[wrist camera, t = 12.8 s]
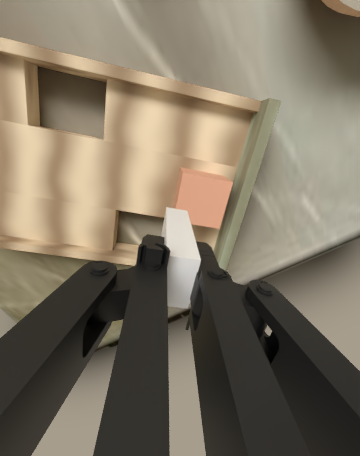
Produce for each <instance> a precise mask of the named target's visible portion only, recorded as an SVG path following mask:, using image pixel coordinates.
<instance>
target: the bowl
mask: <svg viewBox="0 0 360 456" xmlns="http://www.w3.org/2000/svg"><path fill="white" fill-rule="evenodd" d="M321 1H322V2H323V3H324V4H325V5H326V6H327V7H329V8H331V9H333V10H335V11H337V12H338V13H342V14H346V15H351V16H355V17H360V0H321Z"/></svg>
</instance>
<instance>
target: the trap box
mask: <svg viewBox="0 0 360 456" xmlns="http://www.w3.org/2000/svg"><path fill="white" fill-rule="evenodd" d="M37 66H38V67H42V68H47V69H51V70H55V71H59V72H64V73H68V74H72V75H76V76H81V77H85V78H89V79H94V80H98V81H102V82H106V83H107V86H106V104H105V122H104V139H101V138H96V137H91V136H86V135H81V134H76V133H71V132H66V131H61V130H57V129H52V128H47V127H42V126H40V110H39V89H38V68H37ZM280 104H281V101H279V100H275V99H271V98H269V99H266V100H263V101H258V100H254V99H250V98H246V97H242V96H238V95H234V94H230V93H226V92H222V91H218V90H214V89H209V88H205V87H201V86H197V85H193V84H189V83H185V82H181V81H177V80H173V79H169V78H165V77H160V76H156V75H152V74H148V73H144V72H140V71H136V70H132V69H128V68H124V67H120V66H116V65H111V64H107V63H103V62H99V61H95V60H91V59H87V58H83V57H79V56H75V55H71V54H67V53H62V52H58V51H54V50H50V49H46V48H42V47H38V46H34V45H30V44H26V43H22V42H18V41H13V40H9V39H5V38H1V37H0V248H4V249H12V250H19V251H27V252H35V253H42V254H50V255H57V256H65V257H72V258H80V259H88V260H95V261H107V262H110V263H118V264H125V265H133V266H135V265H136V261H137V254H138V247H139V245H132V244H125V243H118V242H116V239H117V228H118V217H119V210H120V211H126V212H132V213H138V214H145V215H151V216H157V217H163V218H165V212H166V207H168V208H173V204H174V199H175V194H176V189H177V184H178V178H179V173H180V168H181V167H182V168H187V169H192V170H197V171H202V172H207V173H212V174H217V175H222V176H225V177H226V178H228V179H229V180H231V181H232V182H233V185H232V188H231V192H230V195H229V199H228V202H227V205H226V209H225V212H224V216H223V219H222V223H221V226H220V229H217V228H211V227H205V226H199V225H193V224H191V226H192V229H193V233H194V237H195V240H196V241H198V242H205V243H207V244H209V245H210V246H211V247H212V250H213V252H214V255H215V257H216V259H217V262H218V264H219V267H220V268H222V269H224V270H225V271H226V269H227V266H228V263H229V260H230V257H231V254H232V251H233V248H234V245H235V242H236V239H237V236H238V232H239V229H240V226H241V223H242V220H243V217H244V214H245V211H246V208H247V205H248V202H249V199H250V196H251V193H252V190H253V187H254V183H255V180H256V177H257V174H258V171H259V168H260V165H261V162H262V159H263V156H264V153H265V150H266V147H267V144H268V141H269V138H270V134H271V131H272V128H273V125H274V122H275V119H276V116H277V113H278V110H279V107H280Z"/></svg>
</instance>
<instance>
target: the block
mask: <svg viewBox="0 0 360 456" xmlns="http://www.w3.org/2000/svg"><path fill="white" fill-rule="evenodd" d="M232 185H233V182H232V181H231V180H229V179H228V178H226V177H225V176H222V175H217V174H212V173H207V172H202V171H197V170H192V169H187V168H182V167H181V168H180V173H179V178H178V184H177V189H176V194H175V199H174V204H173V208H174V209H180V210H186V211H188V215H189V219H190V222H191V224H193V225H199V226H205V227H211V228H217V229H220V226H221V223H222V219H223V216H224V212H225V209H226V205H227V202H228V199H229V195H230V192H231V188H232Z"/></svg>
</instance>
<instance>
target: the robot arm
mask: <svg viewBox="0 0 360 456" xmlns="http://www.w3.org/2000/svg"><path fill="white" fill-rule="evenodd" d="M190 301H191V310H190V314H189V318H188V321H187V325H186V330H188V328H189V325H190V327H191V336H192V344H193V353H194V361H195V368H196V376H197V385H198V393H199V401H200V408H201V418H202V425H203V433H204V442H205V450H206V456H360V371H359V370H358V369H357V368H356V367H355V366H354V365H353V364H352V363H350V361H349V360H348V359H347V358H346V357H345V356H344V355H343V354H342V353H341V352H340V351H339V350H337V348H336V347H335V346H334V345H333V344H331V342H329V340H328V339H327V338H325V336H323V335H322V334H321V333H320V332H319V331H318V330H317V329H316V328H315V327H314V326H313V325H312V324H311V323H310V322H309V321H308V320H307V319H306V318H305V317H304V316H303V315H302V314H301V313H300V312H299V311H298V310H297V309H296V308H295V307H294V306H293V305H292V304H291V303H290V302H289V301H288V300H287V299H286V298H285V297H284V296H283V295H282V294H281V293H280V292H279V291H278V290H277V289H276V288H275V287H273V286H272V285H270V284H268V283H267V282H265V281H261V280H252V281H250V282H249V284H248V287H246V286H243V285H240V284H237V283H235V282H233V281H232V279H231V276H230V275H229V274H228V272H226V271H225V270H224V269H222V268H220V267H219V264H218V262H217V259H216V257H215V255H214V252H213V250H212V247H211V246H210V245H209V244H207V243H205V242H198V241H196V240H195V237H194V233H193V229H192V226H191V222H190V219H189V215H188V211H186V210H180V209H174V208H168V207H166V212H165V218H164V223H163V229H162V234H161V236H154V235H146V236H145V237H143V240H142V244H140V245H139V247H138V254H137V261H136V265H135V266H133V267H132V268H129V269H125V270H117V268H116V266H115V265H114V264H112V263H110V262H107V261H93V262H89V263H87V264H85V265H84V266H82V267H81V268H80V269H79V270H78V271H77V272H76V273H74V274H73V275H72V276H71V277H70V278H69V279H68V280H66V281H65V282H64V283H63V284H62V285H61V286H60V287H58V288H57V289H56V290H55V291H54V292H53V293H52V294H50V295H49V296H48V297H47V298H46V299H45V300H44V301H42V302H41V303H40V304H39V305H38V306H37V307H36V308H34V309H33V310H32V311H31V312H30V313H29V314H28V315H26V316H25V317H24V318H23V319H22V320H21V321H20V322H18V323H17V324H16V325H15V326H14V327H13V328H12V329H11V330H9V331H8V332H7V333H6V334H5V335H4V336H2V337H1V338H0V456H31V455H32V453H33V452H34V450H35V448H36V447H37V445H38V443H39V441H40V440H41V438H42V437H43V435H44V434H45V432H46V430H47V429H48V427H49V425H50V424H51V422H52V420H53V419H54V417H55V416H56V414H57V412H58V411H59V409H60V407H61V406H62V404H63V403H64V401H65V399H66V398H67V396H68V394H69V393H70V391H71V389H72V388H73V386H74V384H75V383H76V381H77V380H78V378H79V376H80V374H81V373H82V371H83V370H84V368H85V366H86V365H87V363H88V362H89V360H90V358H91V357H92V355H93V353H94V352H95V350H96V349H97V347H98V345H99V344H100V342H101V340H102V339H103V337H104V336H105V334H106V332H107V331H108V329H109V327H110V326H111V323H112V321H117V320H122V319H124V320H123V325H122V329H121V334H120V338H119V342H118V347H117V351H116V356H115V360H114V365H113V369H112V374H111V378H110V383H109V387H108V391H107V396H106V400H105V405H104V410H103V414H102V418H101V423H100V427H99V432H98V436H97V440H96V445H95V450H94V455H93V456H169V384H168V383H169V381H168V307H176V308H185V309H188V307H189V303H190ZM267 325H268V326H269V327H270V328H271V330H272V333H271V335H270V336H268V335H267V334H266V333H265V329H266V327H267Z"/></svg>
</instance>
